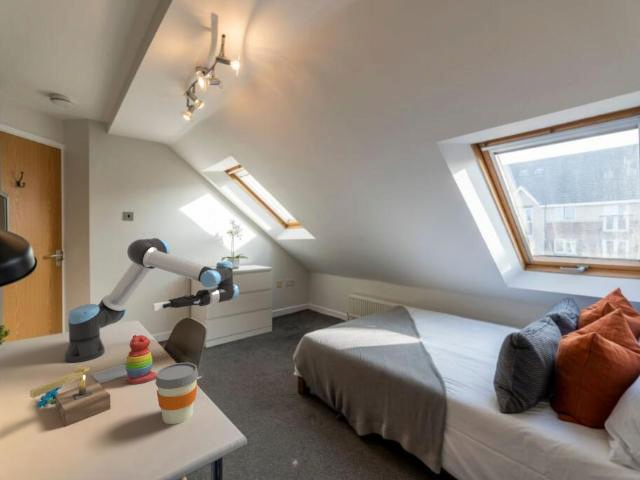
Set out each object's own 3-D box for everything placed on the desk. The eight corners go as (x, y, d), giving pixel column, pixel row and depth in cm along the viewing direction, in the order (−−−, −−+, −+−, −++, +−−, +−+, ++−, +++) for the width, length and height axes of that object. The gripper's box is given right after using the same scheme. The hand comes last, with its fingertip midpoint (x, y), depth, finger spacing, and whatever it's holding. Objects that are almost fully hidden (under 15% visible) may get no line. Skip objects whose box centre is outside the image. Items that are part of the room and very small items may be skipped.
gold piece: (80, 390, 107) (80, 364, 107) (90, 392, 105) (89, 367, 105) (27, 415, 93) (26, 386, 93) (37, 418, 91) (36, 389, 91)
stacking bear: (160, 377, 128) (159, 334, 127) (134, 387, 120) (133, 342, 119) (146, 370, 134) (145, 329, 133) (120, 380, 126) (119, 336, 125)
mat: (91, 374, 130) (91, 374, 130) (123, 365, 139) (123, 364, 139) (100, 384, 122) (100, 383, 122) (133, 373, 131) (133, 372, 131)
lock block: (55, 409, 105) (54, 394, 105) (97, 394, 115) (97, 380, 114) (65, 426, 96) (65, 409, 96) (110, 409, 106) (110, 393, 105)
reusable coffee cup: (205, 414, 103) (204, 370, 102) (166, 433, 93) (165, 384, 93) (188, 400, 111) (187, 359, 110) (150, 416, 102) (149, 371, 101)
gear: (38, 394, 111) (62, 371, 114) (54, 401, 114) (77, 379, 117) (32, 414, 102) (58, 388, 105) (49, 421, 105) (75, 396, 108)
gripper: (214, 307, 143) (160, 319, 126) (201, 302, 152) (148, 313, 134) (213, 290, 143) (159, 300, 125) (200, 287, 151) (147, 296, 134)
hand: (153, 307), depth 130 cm, fingers closed
